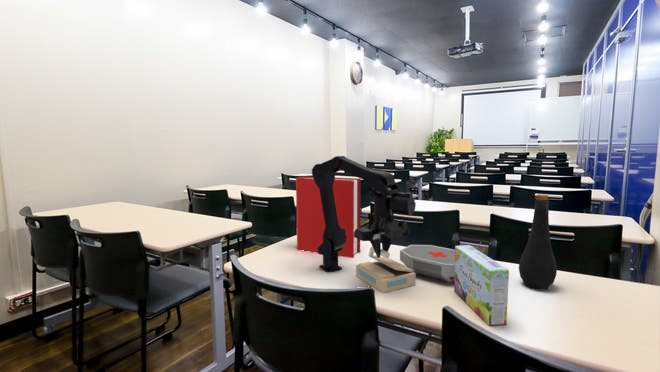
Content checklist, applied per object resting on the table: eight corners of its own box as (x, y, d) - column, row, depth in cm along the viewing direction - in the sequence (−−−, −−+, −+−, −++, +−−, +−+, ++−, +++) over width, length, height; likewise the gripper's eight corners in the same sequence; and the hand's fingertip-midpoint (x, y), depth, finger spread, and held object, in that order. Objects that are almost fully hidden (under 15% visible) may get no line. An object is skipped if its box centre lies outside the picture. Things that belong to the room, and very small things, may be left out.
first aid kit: (393, 273, 125) (463, 291, 109) (394, 253, 124) (464, 268, 108) (415, 260, 139) (480, 275, 123) (416, 242, 138) (481, 255, 122)
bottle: (523, 276, 121) (529, 191, 117) (559, 285, 113) (566, 195, 110) (513, 285, 113) (518, 195, 110) (550, 295, 106) (557, 198, 102)
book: (360, 252, 149) (360, 178, 145) (353, 257, 142) (353, 180, 138) (304, 245, 160) (303, 176, 156) (295, 250, 153) (294, 177, 149)
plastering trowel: (363, 256, 122) (366, 243, 122) (387, 260, 127) (390, 247, 127) (387, 269, 109) (390, 254, 109) (413, 272, 115) (416, 258, 115)
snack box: (452, 291, 110) (454, 245, 108) (469, 290, 110) (471, 244, 108) (487, 326, 89) (490, 269, 87) (508, 325, 89) (511, 269, 87)
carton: (355, 276, 122) (355, 263, 122) (386, 269, 128) (386, 257, 128) (382, 293, 108) (383, 278, 108) (415, 285, 114) (415, 271, 114)
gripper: (372, 218, 102) (371, 269, 104) (421, 212, 111) (419, 260, 113) (353, 211, 112) (352, 258, 114) (399, 207, 121) (398, 250, 122)
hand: (381, 257), depth 115 cm, fingers closed
